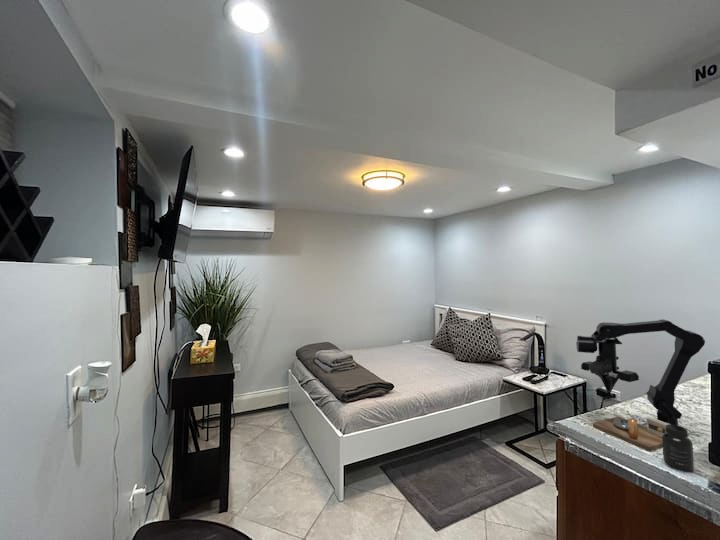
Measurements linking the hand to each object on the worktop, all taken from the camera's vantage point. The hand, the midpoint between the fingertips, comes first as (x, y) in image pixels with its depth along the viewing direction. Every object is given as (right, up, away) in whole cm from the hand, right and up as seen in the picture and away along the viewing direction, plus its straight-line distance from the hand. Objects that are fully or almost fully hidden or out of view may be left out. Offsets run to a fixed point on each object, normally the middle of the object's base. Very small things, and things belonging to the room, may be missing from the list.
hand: (609, 391), depth 129 cm
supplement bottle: (-2, -12, -30) cm, 32 cm away
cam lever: (-2, -10, -11) cm, 15 cm away
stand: (+1, -12, -10) cm, 16 cm away
